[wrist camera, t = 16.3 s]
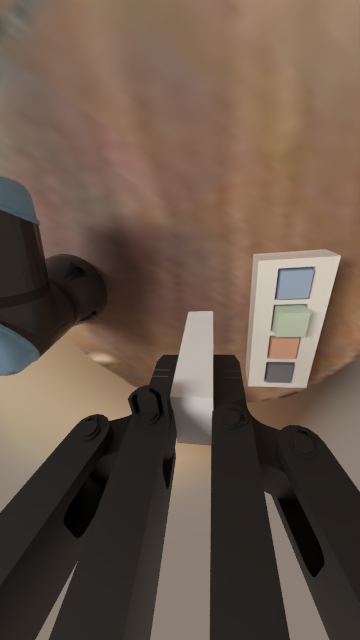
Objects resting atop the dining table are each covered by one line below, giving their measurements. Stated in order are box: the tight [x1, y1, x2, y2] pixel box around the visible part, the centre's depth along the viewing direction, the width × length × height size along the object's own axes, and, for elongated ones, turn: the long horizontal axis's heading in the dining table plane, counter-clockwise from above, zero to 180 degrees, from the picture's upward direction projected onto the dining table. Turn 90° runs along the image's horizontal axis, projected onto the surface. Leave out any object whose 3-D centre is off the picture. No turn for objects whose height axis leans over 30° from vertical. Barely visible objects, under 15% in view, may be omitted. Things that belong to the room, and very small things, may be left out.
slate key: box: [275, 267, 314, 299], centre depth 36 cm, size 5×5×3 cm
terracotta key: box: [268, 336, 300, 359], centre depth 42 cm, size 5×5×3 cm
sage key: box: [272, 305, 311, 337], centre depth 37 cm, size 5×5×3 cm
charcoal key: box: [265, 362, 294, 383], centre depth 45 cm, size 5×5×3 cm
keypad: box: [245, 249, 341, 388], centre depth 42 cm, size 12×28×5 cm, turn 5°
